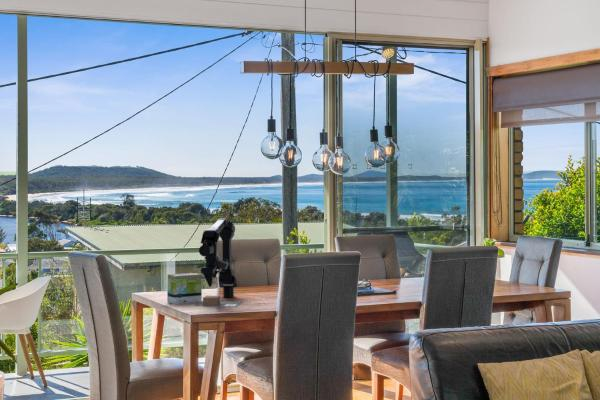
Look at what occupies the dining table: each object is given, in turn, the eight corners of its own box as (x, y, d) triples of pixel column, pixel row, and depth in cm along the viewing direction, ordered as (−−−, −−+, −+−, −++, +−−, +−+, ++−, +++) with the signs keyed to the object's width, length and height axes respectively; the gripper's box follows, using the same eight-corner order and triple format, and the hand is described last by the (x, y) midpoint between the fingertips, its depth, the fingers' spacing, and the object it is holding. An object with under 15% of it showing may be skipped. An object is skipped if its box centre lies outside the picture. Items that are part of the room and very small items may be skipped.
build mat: (202, 302, 436) (202, 301, 436) (243, 303, 432) (243, 301, 432) (193, 307, 420) (193, 305, 420) (236, 307, 417) (236, 306, 416)
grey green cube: (208, 286, 426) (208, 277, 426) (217, 287, 426) (217, 277, 425) (205, 288, 421) (205, 278, 421) (215, 288, 421) (215, 278, 420)
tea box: (176, 305, 428) (175, 275, 427) (167, 302, 436) (166, 274, 435) (202, 302, 436) (202, 273, 436) (192, 300, 445) (192, 272, 444)
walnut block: (206, 303, 428) (206, 295, 427) (220, 303, 427) (220, 295, 426) (203, 305, 421) (203, 297, 421) (216, 305, 420) (216, 297, 419)
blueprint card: (227, 304, 424) (227, 303, 424) (237, 304, 424) (237, 303, 424) (224, 306, 418) (224, 305, 418) (234, 306, 418) (234, 305, 418)
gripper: (222, 256, 412) (222, 288, 413) (231, 252, 431) (231, 283, 431) (200, 256, 414) (200, 288, 415) (210, 252, 433) (210, 283, 433)
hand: (211, 285), depth 423 cm, fingers closed on grey green cube, 5 cm apart
